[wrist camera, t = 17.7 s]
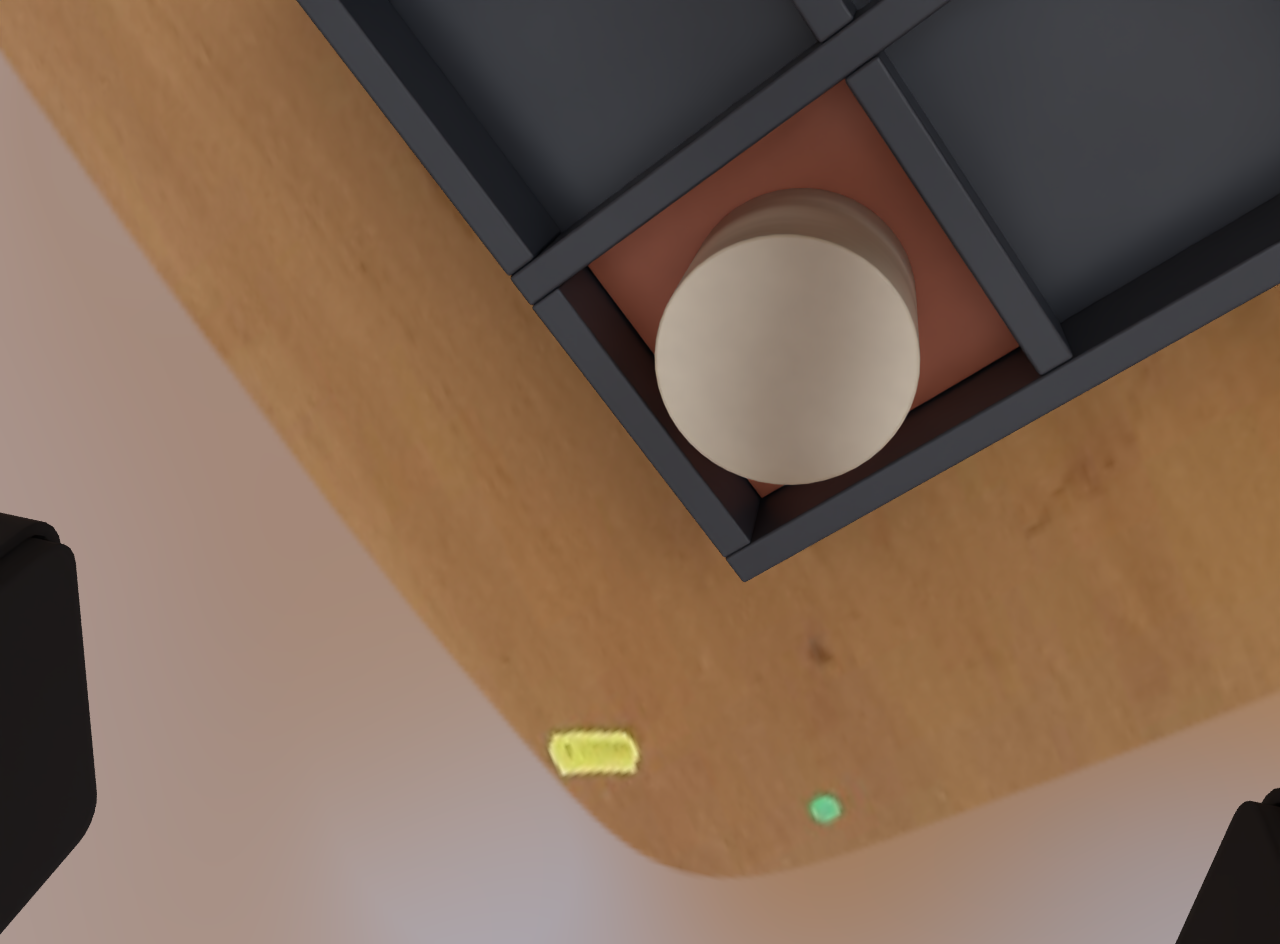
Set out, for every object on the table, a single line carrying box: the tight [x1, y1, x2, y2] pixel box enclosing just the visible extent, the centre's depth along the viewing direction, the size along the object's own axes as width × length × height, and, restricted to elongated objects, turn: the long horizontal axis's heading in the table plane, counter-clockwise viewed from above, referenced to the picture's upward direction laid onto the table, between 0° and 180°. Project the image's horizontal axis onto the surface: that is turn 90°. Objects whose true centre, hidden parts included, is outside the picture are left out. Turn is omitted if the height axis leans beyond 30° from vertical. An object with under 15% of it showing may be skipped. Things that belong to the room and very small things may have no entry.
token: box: [655, 188, 920, 485], centre depth 23 cm, size 5×5×4 cm
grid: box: [297, 0, 1280, 582], centre depth 22 cm, size 15×15×3 cm
